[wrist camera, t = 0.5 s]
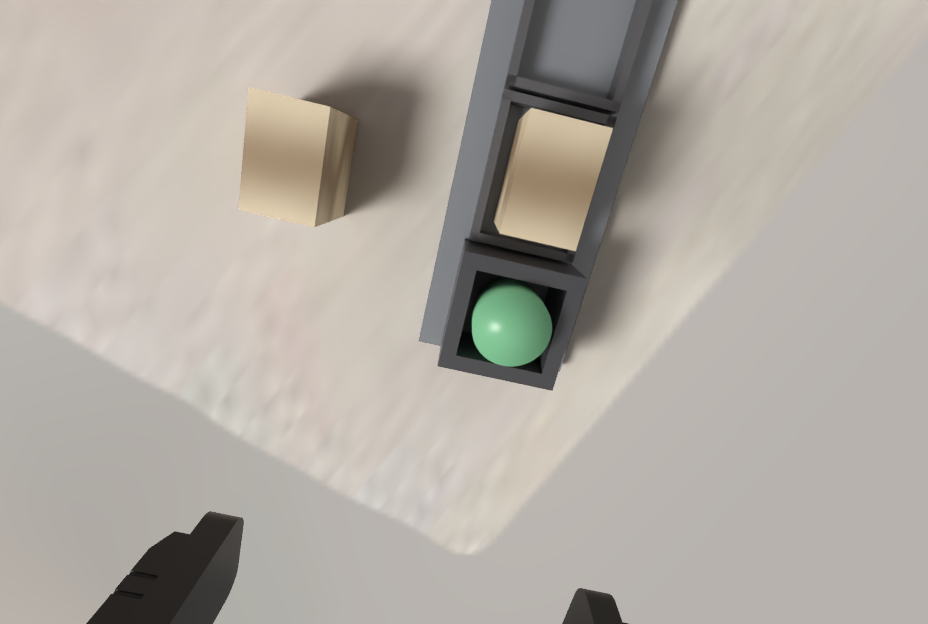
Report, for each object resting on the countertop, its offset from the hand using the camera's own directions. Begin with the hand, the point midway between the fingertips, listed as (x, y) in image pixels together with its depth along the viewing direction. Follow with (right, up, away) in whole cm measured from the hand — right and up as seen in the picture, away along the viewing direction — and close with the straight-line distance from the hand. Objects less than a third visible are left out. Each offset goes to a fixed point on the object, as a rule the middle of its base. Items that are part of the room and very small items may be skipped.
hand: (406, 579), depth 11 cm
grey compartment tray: (+6, +15, +18) cm, 24 cm away
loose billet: (-8, +16, +18) cm, 25 cm away
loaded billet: (+6, +14, +17) cm, 23 cm away
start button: (+4, +6, +17) cm, 19 cm away
